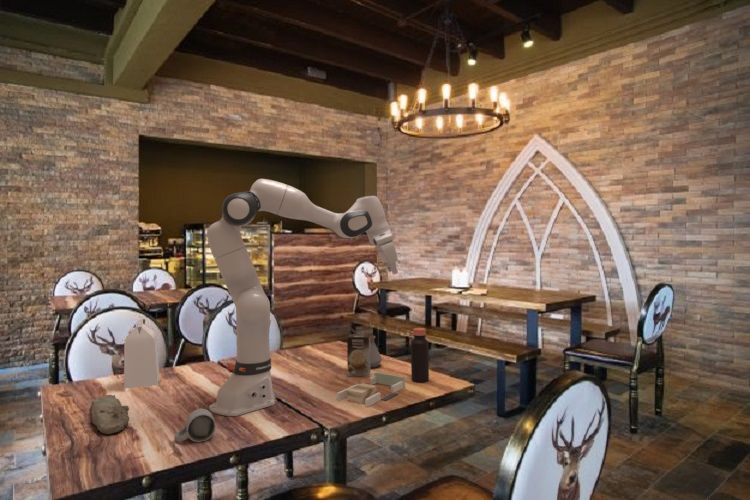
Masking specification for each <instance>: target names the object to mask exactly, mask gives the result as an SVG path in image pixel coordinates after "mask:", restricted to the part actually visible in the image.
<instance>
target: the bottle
mask: <svg viewBox="0 0 750 500" xmlns="http://www.w3.org/2000/svg"><path fill="white" fill-rule="evenodd" d="M412 331H413V334H412V335H413V339H412V340H411V341H410V360H411V362H410V363H411V368H410V369H411V372H410V373H411V381H413V382H414V383H427V382H428V381H429V380H430V373H429V371H430V366H429V365H430V363H429V357H430V356H429V355H430V353H429V352H430V351H429V340H427V338H426V336H427V329H426V328H424V327H415V328H413V330H412Z"/></svg>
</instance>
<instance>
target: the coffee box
mask: <svg viewBox="0 0 750 500" xmlns="http://www.w3.org/2000/svg"><path fill="white" fill-rule="evenodd" d="M370 335H371V334H366V333H365V334H363V333H362V334H361V333H357V334H354V333H349V334H348V335H347V339H346V342H347V344H346V345H347V346H346V347H347V355H346V357H347V359H346V361H347V365H346V366H347V377H360V378H361V377H365V378H366V377H369V378H370V375H371V370H372V369H371V368H370Z"/></svg>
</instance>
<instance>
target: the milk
mask: <svg viewBox="0 0 750 500" xmlns="http://www.w3.org/2000/svg"><path fill="white" fill-rule="evenodd" d="M127 334H128V335H127V336H126V337H125V339H124V351H123V353H124V360H123V361H124V363H123V365H124V366H123V368H124V369H123V371H124V372H123V374H124V376H123V390H124V389H126V388H134V387H141V386H152V385H158V386H159V384H158V381H159V382H160V367H159V355H158V353H159V352H158V341H157V333H156V332H155V331H154V330H152V329H151V328H150V327H148V326H147V325H146V324H145V323H144V316H143V317H142V316H141V317H138V319H137V326H135V327H134V326H133V327H131V329H130V330H129V331H128V332H127Z"/></svg>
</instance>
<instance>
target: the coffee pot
mask: <svg viewBox="0 0 750 500" xmlns="http://www.w3.org/2000/svg"><path fill="white" fill-rule="evenodd" d="M349 329H350V330H349ZM348 331H351V332H352V334H358V332H357V331H356V330H354V328H352V327H351V326H349V327H348V328H347V332H348ZM375 339H376V335H373V334H370V369H375V368H377V367H378V366H380V364H381V362H382V361H383V360H382V356H381V354H380V352H379V350H378V347H377V345H376V343H375Z"/></svg>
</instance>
